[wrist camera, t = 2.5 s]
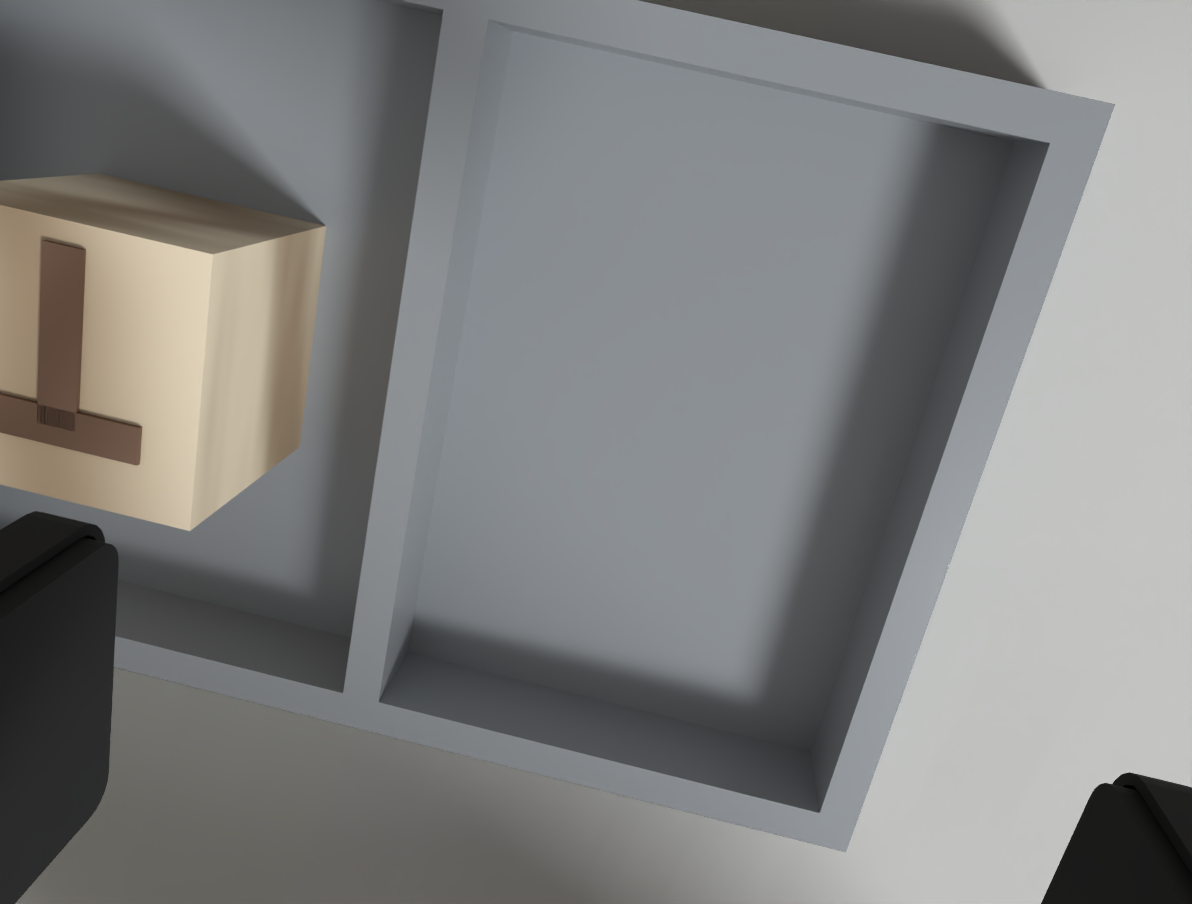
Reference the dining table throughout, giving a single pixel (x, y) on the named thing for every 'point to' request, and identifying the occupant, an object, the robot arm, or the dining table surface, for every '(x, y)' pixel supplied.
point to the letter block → (149, 344)
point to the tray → (581, 370)
